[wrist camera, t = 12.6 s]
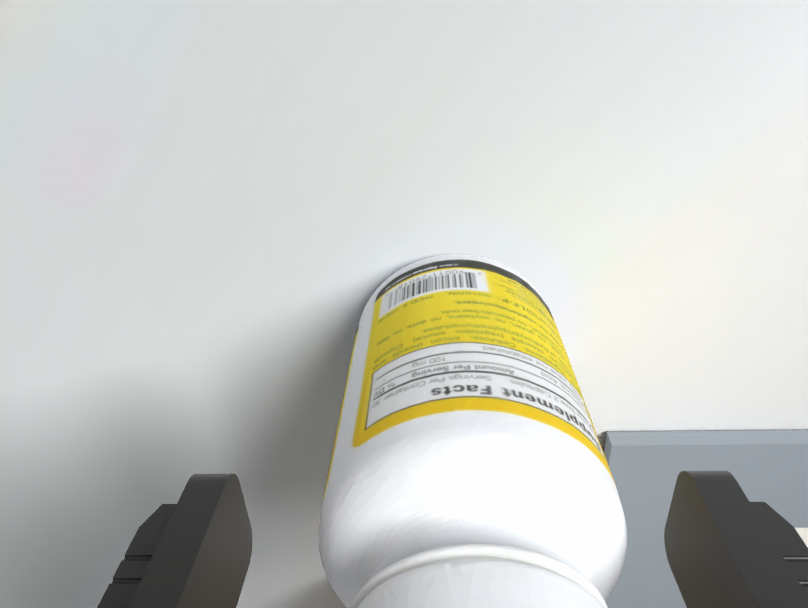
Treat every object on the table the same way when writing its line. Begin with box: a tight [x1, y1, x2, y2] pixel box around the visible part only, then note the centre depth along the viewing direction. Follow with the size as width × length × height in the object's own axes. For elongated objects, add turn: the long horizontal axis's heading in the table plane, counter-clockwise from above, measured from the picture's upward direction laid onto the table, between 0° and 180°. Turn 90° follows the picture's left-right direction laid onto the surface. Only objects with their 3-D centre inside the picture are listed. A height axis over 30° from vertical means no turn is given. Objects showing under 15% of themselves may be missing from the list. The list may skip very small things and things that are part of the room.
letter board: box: [604, 430, 808, 608], centre depth 20 cm, size 15×15×1 cm
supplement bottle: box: [319, 254, 627, 608], centre depth 12 cm, size 5×5×10 cm
